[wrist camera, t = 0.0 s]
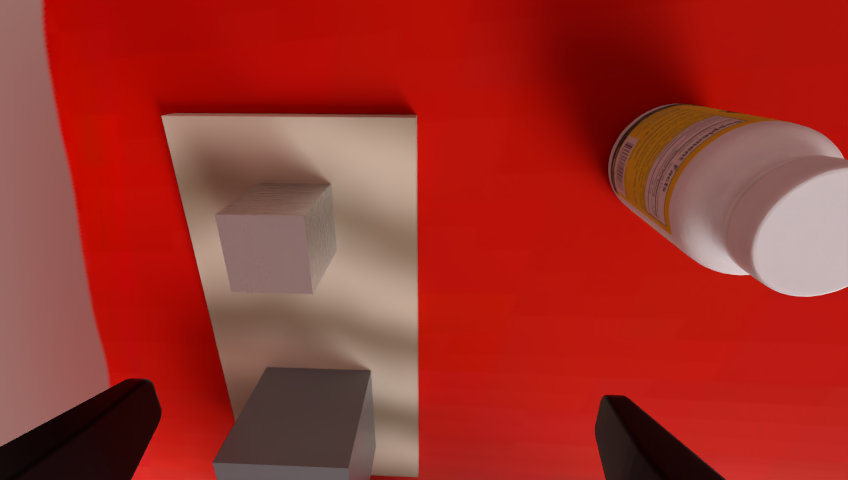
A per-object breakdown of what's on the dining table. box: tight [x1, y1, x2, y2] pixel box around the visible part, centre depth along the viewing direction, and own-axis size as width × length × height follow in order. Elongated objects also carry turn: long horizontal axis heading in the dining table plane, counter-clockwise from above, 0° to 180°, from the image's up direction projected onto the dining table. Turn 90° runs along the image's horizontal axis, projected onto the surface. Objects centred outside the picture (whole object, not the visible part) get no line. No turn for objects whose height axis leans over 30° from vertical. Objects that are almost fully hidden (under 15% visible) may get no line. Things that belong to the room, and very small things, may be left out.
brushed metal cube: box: [215, 183, 337, 294], centre depth 20 cm, size 4×4×4 cm
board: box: [162, 113, 419, 477], centre depth 25 cm, size 24×12×1 cm, turn 0°
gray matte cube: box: [213, 367, 376, 480], centre depth 24 cm, size 6×6×7 cm
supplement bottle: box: [608, 104, 848, 296], centre depth 16 cm, size 5×5×10 cm
